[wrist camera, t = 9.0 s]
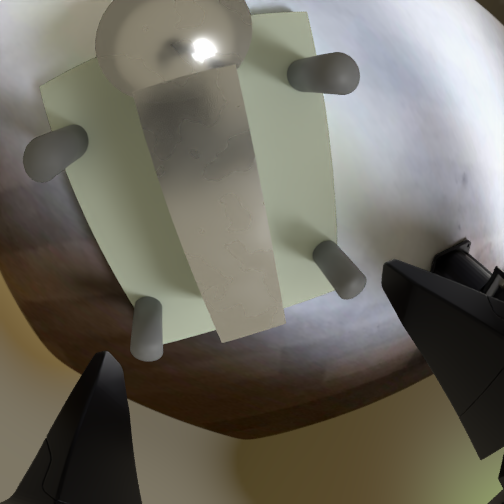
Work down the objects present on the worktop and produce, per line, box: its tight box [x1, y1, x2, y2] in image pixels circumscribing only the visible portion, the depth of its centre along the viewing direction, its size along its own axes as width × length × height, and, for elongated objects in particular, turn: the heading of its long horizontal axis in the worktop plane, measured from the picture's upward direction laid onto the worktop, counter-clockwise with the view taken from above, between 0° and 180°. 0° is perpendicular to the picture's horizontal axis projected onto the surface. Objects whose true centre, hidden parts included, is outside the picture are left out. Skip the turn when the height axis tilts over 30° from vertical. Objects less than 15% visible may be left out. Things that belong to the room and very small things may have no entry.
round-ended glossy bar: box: [95, 0, 286, 343], centre depth 13 cm, size 6×19×4 cm, turn 11°
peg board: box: [23, 12, 366, 361], centre depth 15 cm, size 15×20×5 cm
